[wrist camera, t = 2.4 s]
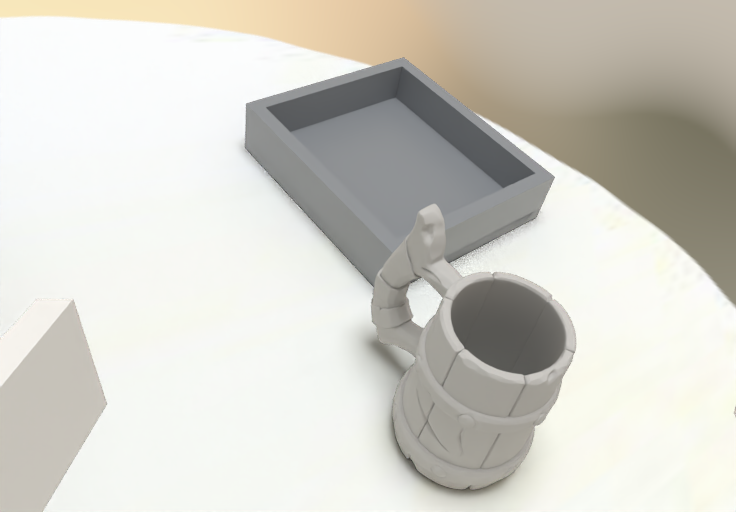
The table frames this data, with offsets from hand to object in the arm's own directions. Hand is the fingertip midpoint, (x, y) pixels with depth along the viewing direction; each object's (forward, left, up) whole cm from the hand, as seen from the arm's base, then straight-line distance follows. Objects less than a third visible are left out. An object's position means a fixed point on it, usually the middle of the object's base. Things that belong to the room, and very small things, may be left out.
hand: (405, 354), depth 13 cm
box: (-22, +23, -22) cm, 38 cm away
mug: (-6, +13, -22) cm, 26 cm away
